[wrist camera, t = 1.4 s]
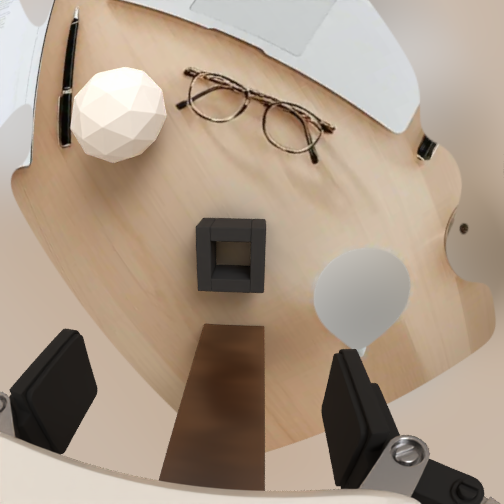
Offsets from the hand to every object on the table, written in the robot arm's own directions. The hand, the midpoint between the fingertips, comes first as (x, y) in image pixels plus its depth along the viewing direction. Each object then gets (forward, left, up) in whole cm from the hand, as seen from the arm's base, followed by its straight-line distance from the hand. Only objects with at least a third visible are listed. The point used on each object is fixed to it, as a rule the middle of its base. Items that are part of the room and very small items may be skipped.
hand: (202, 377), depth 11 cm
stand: (0, +12, -19) cm, 22 cm away
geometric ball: (+9, -11, -19) cm, 24 cm away
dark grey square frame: (0, +1, -19) cm, 19 cm away
